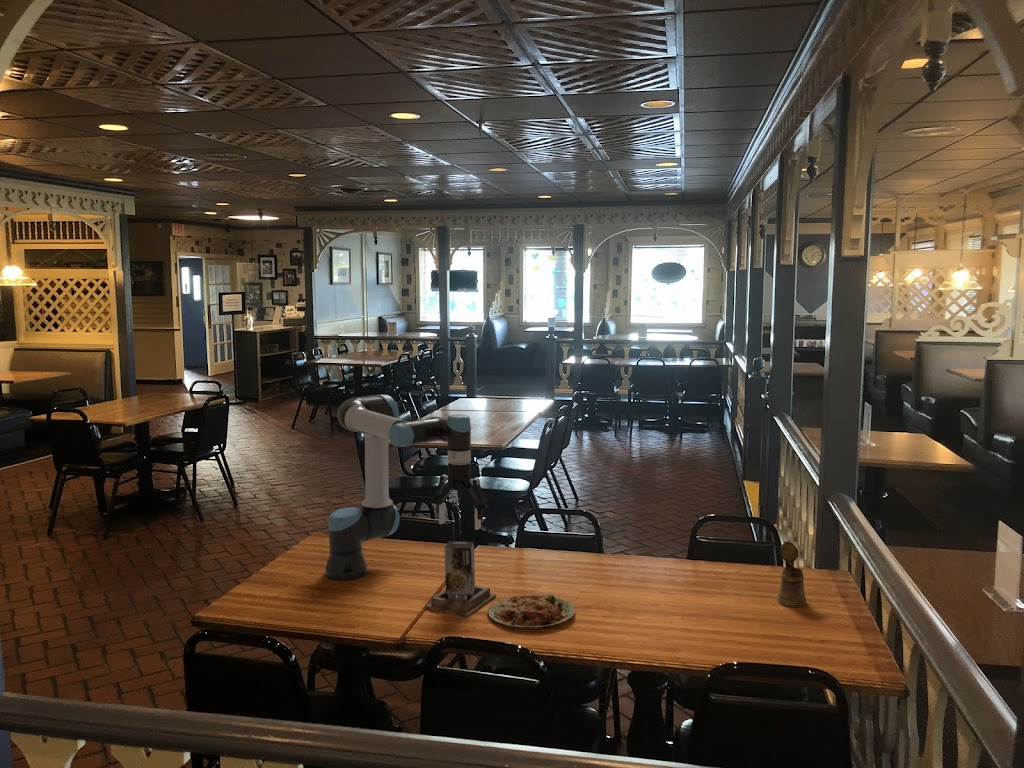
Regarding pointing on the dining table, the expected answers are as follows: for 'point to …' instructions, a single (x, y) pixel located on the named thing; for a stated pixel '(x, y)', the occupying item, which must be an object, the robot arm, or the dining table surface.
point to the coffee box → (460, 568)
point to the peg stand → (461, 601)
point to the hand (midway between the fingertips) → (459, 525)
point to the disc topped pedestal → (791, 578)
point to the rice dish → (531, 610)
